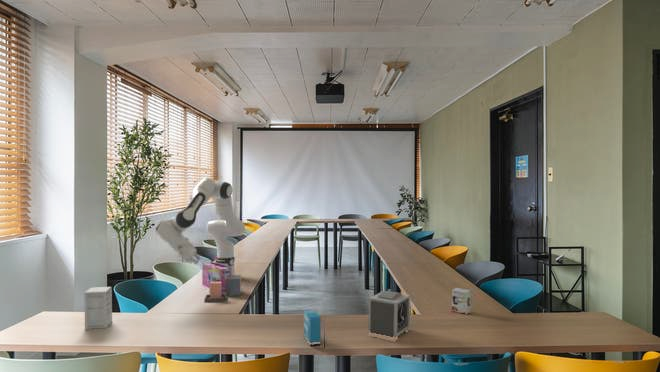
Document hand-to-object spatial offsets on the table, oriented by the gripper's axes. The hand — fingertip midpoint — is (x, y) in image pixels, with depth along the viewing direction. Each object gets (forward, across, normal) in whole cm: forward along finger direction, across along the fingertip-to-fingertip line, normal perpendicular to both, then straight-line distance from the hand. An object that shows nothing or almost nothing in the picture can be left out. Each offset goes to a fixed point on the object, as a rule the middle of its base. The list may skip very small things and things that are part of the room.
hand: (198, 261), depth 255 cm
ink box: (+112, -37, -82) cm, 144 cm away
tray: (+22, -1, +9) cm, 23 cm away
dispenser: (+25, +10, +5) cm, 28 cm away
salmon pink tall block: (+21, -1, +8) cm, 23 cm away
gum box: (+21, +28, +11) cm, 37 cm away
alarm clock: (+80, -63, -51) cm, 114 cm away
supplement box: (-13, -40, +42) cm, 59 cm away
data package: (+54, -70, -26) cm, 92 cm away
